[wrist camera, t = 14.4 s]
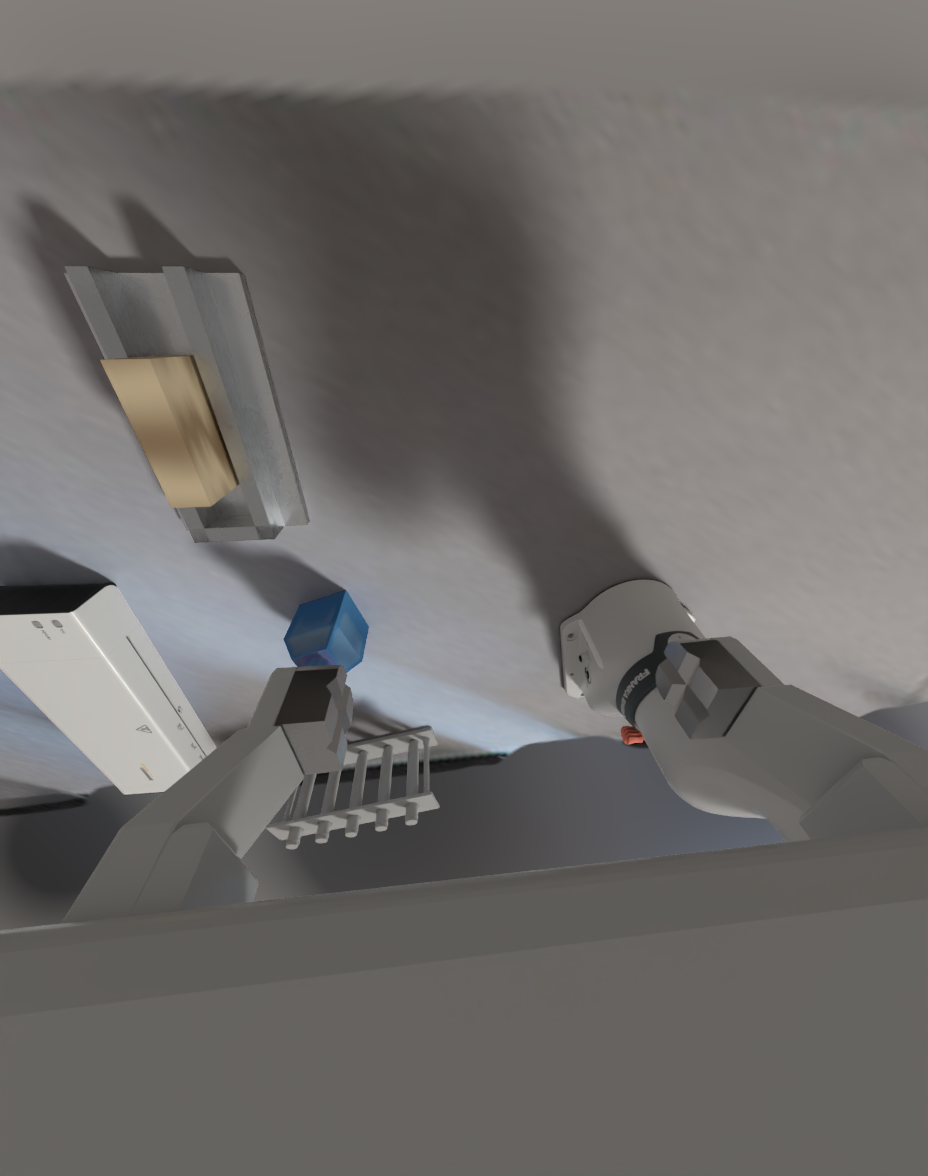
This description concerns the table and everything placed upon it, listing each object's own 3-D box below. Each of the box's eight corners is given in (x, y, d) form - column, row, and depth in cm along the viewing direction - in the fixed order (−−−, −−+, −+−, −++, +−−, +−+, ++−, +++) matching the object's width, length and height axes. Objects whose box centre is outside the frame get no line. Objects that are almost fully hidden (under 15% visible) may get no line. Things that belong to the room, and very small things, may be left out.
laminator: (221, 751, 60) (202, 789, 55) (141, 756, 59) (114, 796, 54) (114, 576, 41) (70, 610, 36) (-7, 580, 40) (-70, 615, 35)
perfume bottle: (368, 626, 48) (354, 701, 38) (325, 640, 48) (300, 717, 39) (346, 590, 44) (323, 662, 34) (299, 605, 45) (264, 680, 35)
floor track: (309, 520, 39) (299, 537, 36) (191, 526, 38) (169, 543, 35) (244, 275, 28) (220, 266, 24) (74, 274, 27) (25, 266, 24)
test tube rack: (300, 770, 65) (275, 857, 54) (288, 756, 62) (259, 845, 51) (437, 740, 63) (440, 824, 52) (431, 725, 61) (432, 810, 50)
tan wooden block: (246, 478, 35) (210, 506, 29) (213, 479, 35) (171, 508, 29) (203, 354, 29) (149, 358, 24) (163, 355, 29) (99, 359, 23)
